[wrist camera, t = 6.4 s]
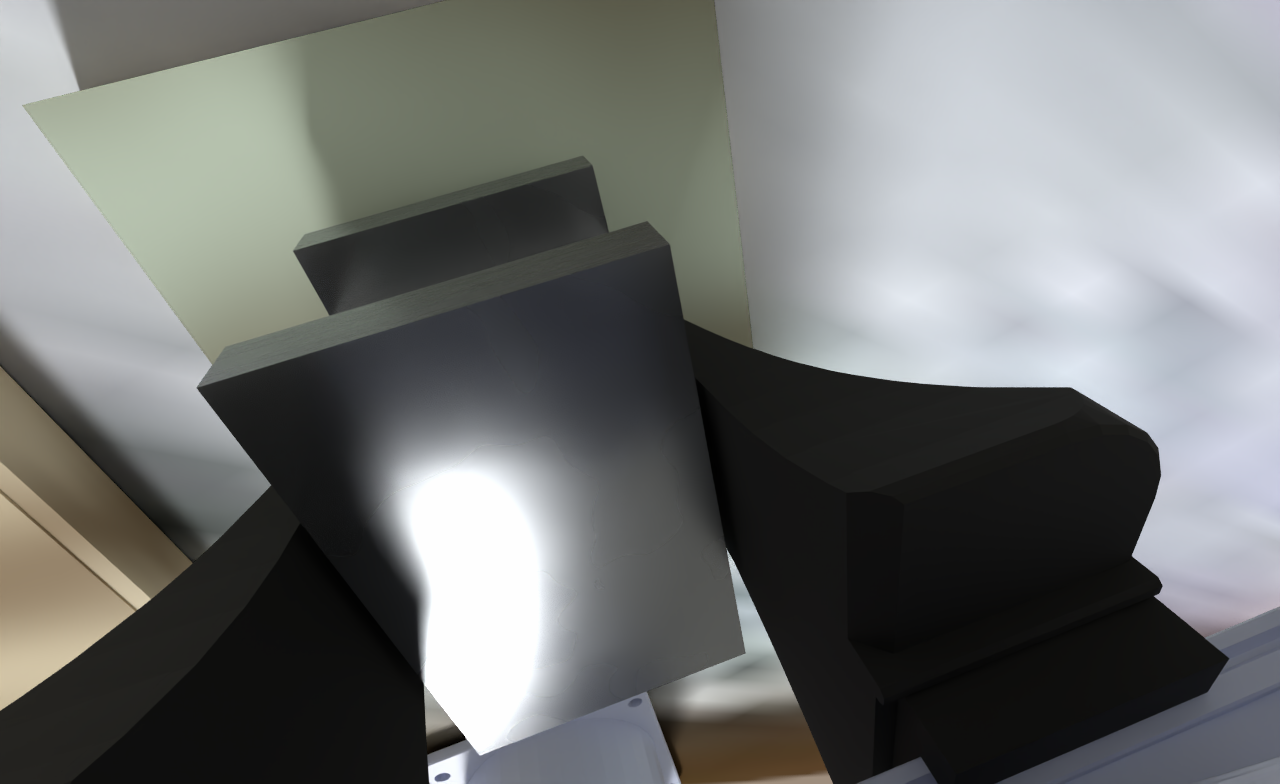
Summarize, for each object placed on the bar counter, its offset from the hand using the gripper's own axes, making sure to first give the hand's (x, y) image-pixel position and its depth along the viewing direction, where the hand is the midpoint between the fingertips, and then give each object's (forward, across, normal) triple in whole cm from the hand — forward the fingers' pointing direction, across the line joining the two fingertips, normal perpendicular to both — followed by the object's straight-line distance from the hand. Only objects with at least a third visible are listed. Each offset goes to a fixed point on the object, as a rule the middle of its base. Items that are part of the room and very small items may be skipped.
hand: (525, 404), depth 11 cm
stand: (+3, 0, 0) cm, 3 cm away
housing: (+1, 0, 0) cm, 1 cm away
